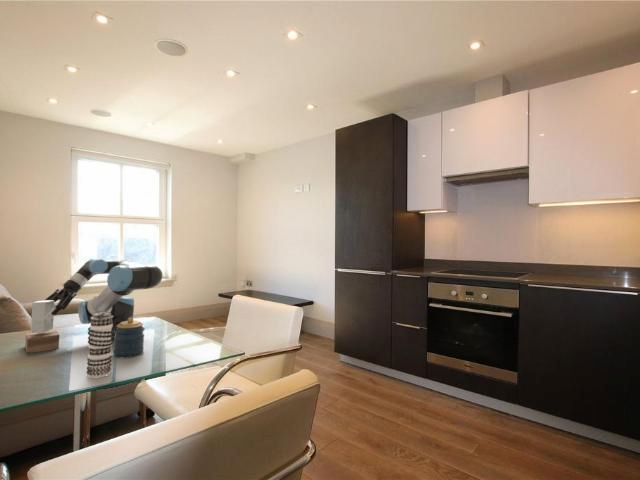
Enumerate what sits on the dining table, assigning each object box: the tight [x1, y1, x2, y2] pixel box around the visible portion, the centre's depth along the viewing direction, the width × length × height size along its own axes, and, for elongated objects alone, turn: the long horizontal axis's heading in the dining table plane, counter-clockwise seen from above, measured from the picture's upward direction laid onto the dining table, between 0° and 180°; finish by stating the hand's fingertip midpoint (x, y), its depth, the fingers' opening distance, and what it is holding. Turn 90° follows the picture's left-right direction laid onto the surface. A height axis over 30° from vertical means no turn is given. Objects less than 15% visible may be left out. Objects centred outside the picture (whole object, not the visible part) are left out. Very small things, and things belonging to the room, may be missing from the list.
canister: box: [112, 317, 145, 359], centre depth 165 cm, size 13×13×18 cm
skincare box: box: [30, 299, 55, 333], centre depth 168 cm, size 8×6×15 cm
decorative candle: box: [86, 312, 115, 379], centre depth 139 cm, size 9×9×25 cm
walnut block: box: [24, 329, 60, 354], centre depth 168 cm, size 12×12×7 cm
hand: (39, 318), depth 167 cm, fingers closed on skincare box, 9 cm apart
